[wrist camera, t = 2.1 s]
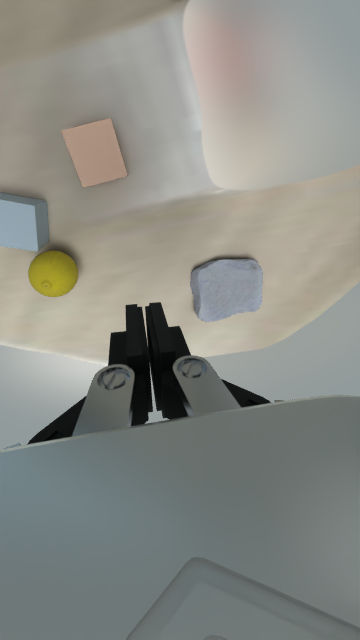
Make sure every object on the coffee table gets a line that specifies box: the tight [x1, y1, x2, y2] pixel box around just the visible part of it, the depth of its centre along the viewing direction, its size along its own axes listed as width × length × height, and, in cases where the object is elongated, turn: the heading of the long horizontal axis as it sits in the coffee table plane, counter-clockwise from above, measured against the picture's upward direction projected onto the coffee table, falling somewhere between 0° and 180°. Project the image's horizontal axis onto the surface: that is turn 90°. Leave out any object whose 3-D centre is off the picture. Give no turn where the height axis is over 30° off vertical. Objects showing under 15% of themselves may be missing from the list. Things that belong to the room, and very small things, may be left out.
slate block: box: [0, 192, 49, 251], centre depth 28 cm, size 5×5×5 cm
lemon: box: [29, 251, 78, 297], centre depth 31 cm, size 6×6×8 cm
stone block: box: [190, 259, 263, 322], centre depth 40 cm, size 12×5×10 cm
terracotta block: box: [61, 118, 128, 188], centre depth 27 cm, size 5×5×5 cm
